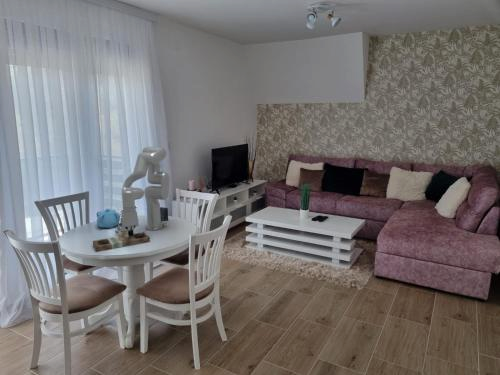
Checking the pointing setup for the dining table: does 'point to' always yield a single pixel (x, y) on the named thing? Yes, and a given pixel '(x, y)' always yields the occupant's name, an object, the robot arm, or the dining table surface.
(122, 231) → the birch block
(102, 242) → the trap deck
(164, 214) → the small box
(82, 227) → the dining table surface
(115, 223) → the decorative pot
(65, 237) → the dining table surface
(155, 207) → the robot arm
